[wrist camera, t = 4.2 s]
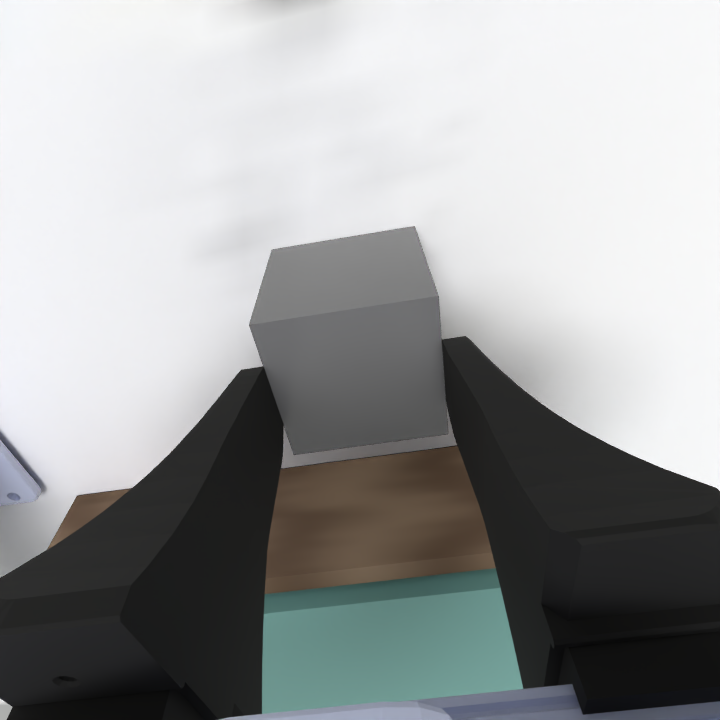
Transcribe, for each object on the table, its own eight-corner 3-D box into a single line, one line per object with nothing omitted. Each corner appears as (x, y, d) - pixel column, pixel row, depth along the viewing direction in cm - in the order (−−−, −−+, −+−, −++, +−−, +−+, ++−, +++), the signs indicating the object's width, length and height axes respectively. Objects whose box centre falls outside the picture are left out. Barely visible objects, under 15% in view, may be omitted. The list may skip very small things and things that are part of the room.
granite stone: (303, 363, 18) (294, 455, 14) (271, 249, 15) (248, 325, 11) (425, 345, 17) (448, 434, 14) (414, 226, 15) (438, 295, 11)
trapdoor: (198, 687, 27) (186, 744, 25) (96, 569, 20) (67, 635, 18) (514, 655, 26) (529, 712, 24) (523, 518, 19) (545, 582, 17)
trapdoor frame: (194, 645, 30) (171, 744, 26) (77, 495, 22) (15, 607, 17) (508, 612, 29) (535, 710, 25) (515, 438, 20) (558, 544, 16)
